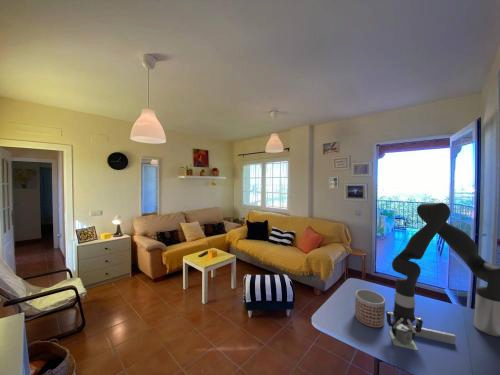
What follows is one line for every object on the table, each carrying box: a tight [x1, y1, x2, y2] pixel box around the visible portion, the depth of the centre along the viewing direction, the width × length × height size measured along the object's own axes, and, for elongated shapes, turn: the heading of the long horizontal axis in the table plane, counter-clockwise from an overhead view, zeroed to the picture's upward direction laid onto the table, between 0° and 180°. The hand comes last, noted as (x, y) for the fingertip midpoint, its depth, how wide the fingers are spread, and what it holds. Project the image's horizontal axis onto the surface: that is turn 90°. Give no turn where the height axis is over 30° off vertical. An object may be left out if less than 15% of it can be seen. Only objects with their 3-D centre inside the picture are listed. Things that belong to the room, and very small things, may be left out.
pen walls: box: [404, 324, 457, 345], centre depth 103 cm, size 17×11×4 cm, turn 69°
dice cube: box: [393, 324, 412, 344], centre depth 97 cm, size 5×5×5 cm
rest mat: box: [388, 330, 419, 351], centre depth 97 cm, size 9×9×1 cm
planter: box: [354, 288, 386, 329], centre depth 112 cm, size 14×14×13 cm
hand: (402, 336), depth 97 cm, fingers closed on dice cube, 6 cm apart
